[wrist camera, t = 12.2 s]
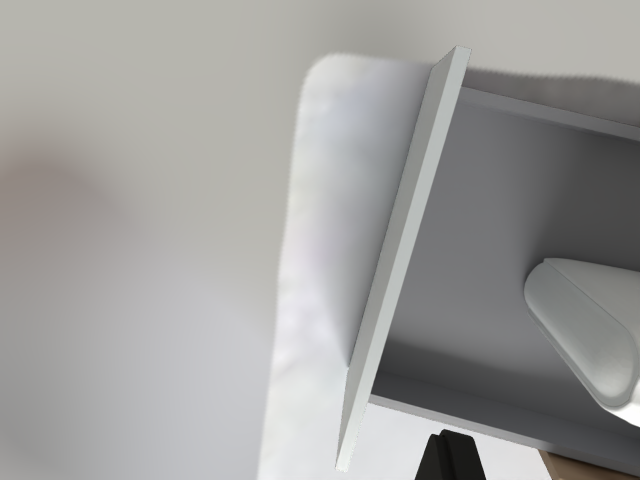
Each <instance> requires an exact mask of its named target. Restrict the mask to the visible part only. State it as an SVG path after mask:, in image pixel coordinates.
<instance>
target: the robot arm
mask: <svg viewBox="0 0 640 480" xmlns="http://www.w3.org/2000/svg"><path fill="white" fill-rule="evenodd" d="M415 480H486V477H485V474H484V471H483V467H482V464H481V461H480V458H479V454H478V451H477V448H476V444H475V441H474V439H473V437H471V436H468V435H464V434H461V433H457V432H453V431H450V430H446V429H444V430H442V431H441V433H440V435H435V434H431V436H430V438H429V440H428V443H427V446H426V448H425V451H424V454H423V457H422V460H421V463H420V466H419V469H418V472H417V474H416V477H415Z"/></svg>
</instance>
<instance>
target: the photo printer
mask: <svg viewBox="0 0 640 480" xmlns="http://www.w3.org/2000/svg"><path fill="white" fill-rule="evenodd" d="M524 296H525V300H526V303H527V304H528V310H527V313H528V315H529V316H530V318H531V319H532V321H533V322H534V323H535V324H536V326H537V327H538V328H539V329H540V331H541V332H542V333H543V334H544V335H545V337H546V338H547V339H548V341H549V342H550V343H551V345H552V346H553V347H554V348H555V349H556V351H557V352H558V353H559V355H560V356H561V357H562V358H563V360H564V361H565V362H566V364H567V365H568V366H569V367H570V369H571V370H572V371H573V373H574V374H575V375H576V377H577V378H578V379H579V380H580V381H581V383H582V384H583V385H584V387H585V388H586V389H587V390H588V392H589V393H590V394H591V396H592V397H593V398H594V399H595V401H596V402H597V403H598V404H599V405H600V406H601V407H602V408H604V409H605V410H607V411H609V412H611V413H612V414H614V415H616V416H618V417H620V418H622V419H624V420H626V421H627V422H629V423H631V424H633V425H635V426H638V427H640V272H637V271H632V270H627V269H622V268H617V267H611V266H606V265H600V264H595V263H589V262H583V261H577V260H571V259H563V258H545V259H544V262H543V263H541V264H539V265H537V266H536V267H535V268H534V269H533V270H532V271H531V273H530V274H529V276H528V278H527V280H526V282H525V287H524Z"/></svg>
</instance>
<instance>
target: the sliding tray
mask: <svg viewBox="0 0 640 480" xmlns="http://www.w3.org/2000/svg"><path fill="white" fill-rule="evenodd" d="M471 51H472V49H469V48H465V47H461V46H455V48H453V49H452V50H451V51H450V52H449V53H448V54H447V55H446V56H445V57H444V58H443V59H442V60H440V61H439V62H438V63H437V64H436V65H435V66H434V67H433V68H432V69H431V72H430V76H429V80H428V83H427V87H426V90H425V94H424V98H423V101H422V105H421V109H420V112H419V116H418V119H417V123H416V127H415V130H414V134H413V137H412V141H411V145H410V148H409V152H408V156H407V159H406V163H405V166H404V170H403V174H402V177H401V181H400V185H399V188H398V192H397V195H396V199H395V203H394V206H393V210H392V214H391V217H390V221H389V224H388V228H387V232H386V235H385V239H384V242H383V246H382V250H381V253H380V257H379V261H378V264H377V268H376V271H375V275H374V279H373V282H372V286H371V290H370V293H369V297H368V300H367V304H366V308H365V311H364V315H363V318H362V322H361V326H360V329H359V333H358V337H357V340H356V344H355V347H354V351H353V355H352V358H351V362H350V366H349V369H348V373H347V379H346V387H345V395H344V403H343V410H342V418H341V426H340V434H339V442H338V450H337V458H336V466H335V469H336V470H339V471H343V472H346V473H347V470H348V467H349V464H350V460H351V457H352V453H353V450H354V447H355V443H356V440H357V437H358V433H359V430H360V426H361V423H362V420H363V416H364V413H365V409H366V406H367V403H372V404H375V405H379V406H383V407H386V408H390V409H394V410H397V411H401V412H405V413H408V414H412V415H416V416H419V417H423V418H426V419H430V420H434V421H437V422H441V423H445V424H448V425H452V426H456V427H459V428H463V429H467V430H470V431H474V432H478V433H481V434H485V435H489V436H492V437H496V438H500V439H503V440H507V441H511V442H514V443H518V444H522V445H525V446H529V447H533V448H536V449H540V450H544V451H547V452H551V453H554V454H558V455H562V456H565V457H569V458H573V459H576V460H580V461H584V462H587V463H591V464H595V465H598V466H602V467H606V468H609V469H613V470H617V471H620V472H624V473H628V474H631V475H635V476H639V477H640V427H638V426H635V425H633V424H631V423H629V422H627V421H626V420H624V419H622V418H620V417H618V416H616V415H614V414H612V413H611V412H609V411H607V410H605V409H604V408H602V407H601V406H600V405H599V404H598V403H597V402H596V401H595V399H594V398H593V397H592V396H591V394H590V393H589V392H588V390H587V389H586V388H585V387H584V385H583V384H582V383H581V381H580V380H579V379H578V378H577V377H576V375H575V374H574V373H573V371H572V370H571V369H570V367H569V366H568V365H567V364H566V362H565V361H564V360H563V358H562V357H561V356H560V355H559V353H558V352H557V351H556V349H555V348H554V347H553V346H552V345H551V343H550V342H549V341H548V339H547V338H546V337H545V335H544V334H543V333H542V332H541V331H540V329H539V328H538V327H537V326H536V324H535V323H534V322H533V321H532V319H531V318H530V316H529V315H528V313H527V310H528V304H527V303H526V300H525V296H524V287H525V282H526V280H527V278H528V276H529V274H530V273H531V271H532V270H533V269H534V268H535V267H536V266H537V265H539V264H541V263H543V262H544V259H545V258H563V259H571V260H577V261H583V262H589V263H595V264H600V265H606V266H611V267H617V268H622V269H627V270H632V271H637V272H640V127H636V126H632V125H628V124H623V123H619V122H615V121H610V120H606V119H602V118H597V117H593V116H589V115H584V114H580V113H576V112H571V111H567V110H563V109H558V108H554V107H550V106H545V105H541V104H537V103H532V102H528V101H524V100H519V99H515V98H511V97H506V96H502V95H498V94H493V93H489V92H485V91H480V90H476V89H472V88H467V87H463V86H461V85H462V81H463V78H464V74H465V71H466V68H467V64H468V61H469V57H470V54H471Z"/></svg>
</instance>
